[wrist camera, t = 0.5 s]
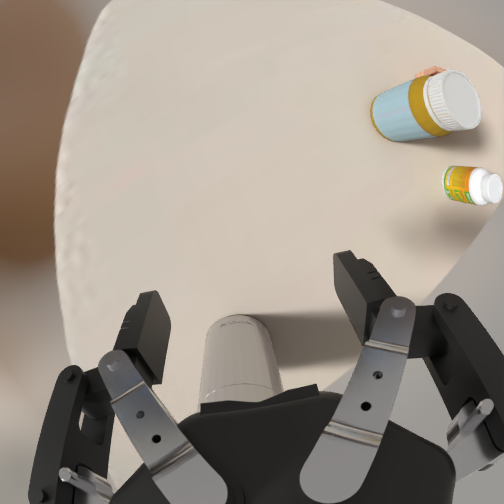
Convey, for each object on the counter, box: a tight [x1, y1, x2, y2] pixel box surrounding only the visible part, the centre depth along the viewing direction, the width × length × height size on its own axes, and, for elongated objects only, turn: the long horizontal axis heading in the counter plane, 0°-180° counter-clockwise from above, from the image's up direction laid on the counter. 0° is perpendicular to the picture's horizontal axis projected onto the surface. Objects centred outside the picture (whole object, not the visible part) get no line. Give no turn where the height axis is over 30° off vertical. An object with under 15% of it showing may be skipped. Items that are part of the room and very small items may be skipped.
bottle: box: [370, 70, 482, 142], centre depth 25 cm, size 7×7×15 cm
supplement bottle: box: [442, 166, 503, 206], centre depth 31 cm, size 5×5×10 cm
